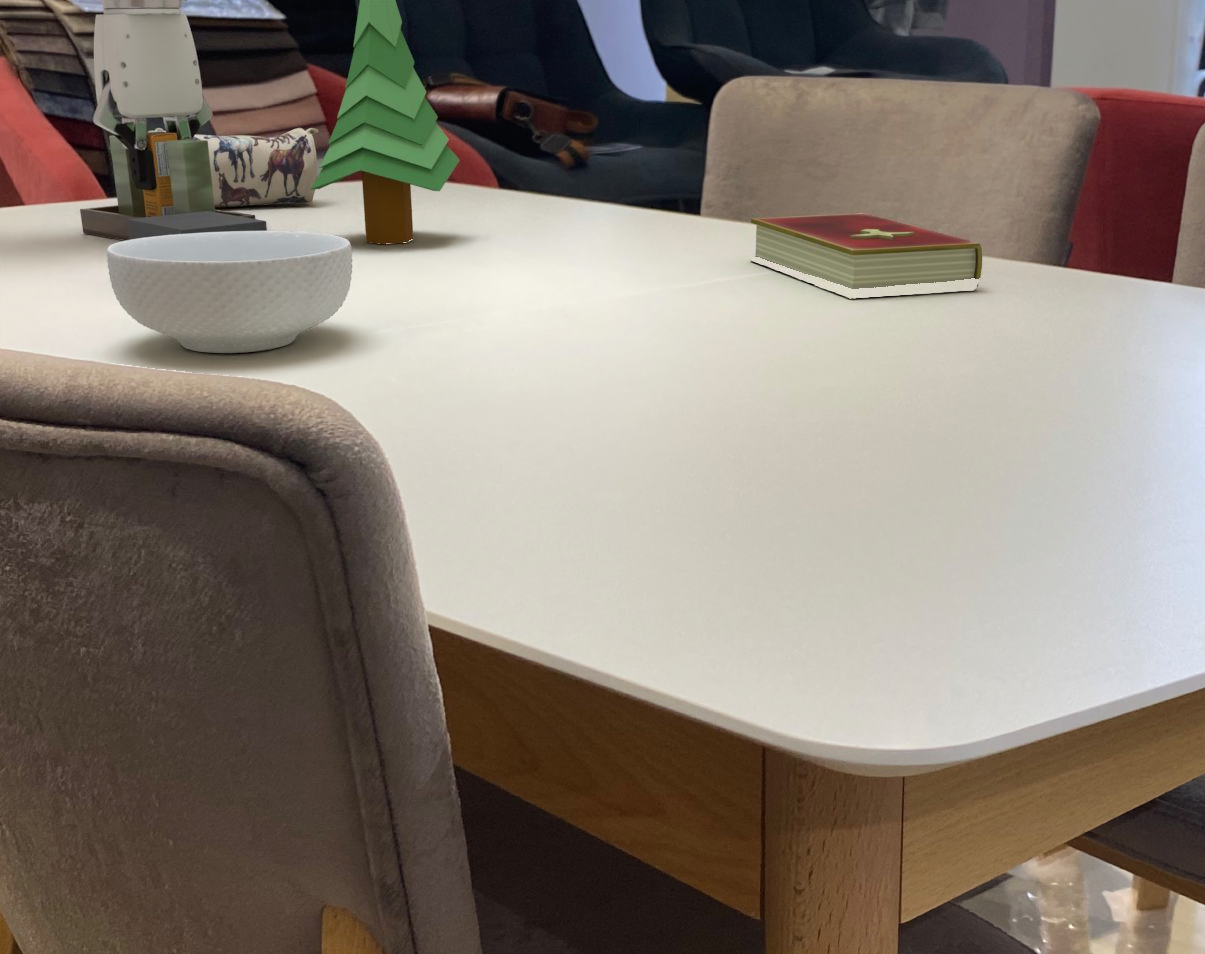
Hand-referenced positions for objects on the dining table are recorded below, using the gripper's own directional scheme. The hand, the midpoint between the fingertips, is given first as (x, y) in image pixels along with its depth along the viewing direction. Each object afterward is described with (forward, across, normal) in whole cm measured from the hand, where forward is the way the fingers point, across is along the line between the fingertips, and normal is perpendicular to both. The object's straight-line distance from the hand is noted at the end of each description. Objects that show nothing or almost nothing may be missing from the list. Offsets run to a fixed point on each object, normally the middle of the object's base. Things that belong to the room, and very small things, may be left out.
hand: (162, 185), depth 153 cm
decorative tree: (+6, -13, +21) cm, 25 cm away
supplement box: (+5, 0, 0) cm, 5 cm away
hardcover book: (+5, -26, +70) cm, 75 cm away
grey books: (+5, +14, +28) cm, 32 cm away
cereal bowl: (+6, +27, +52) cm, 59 cm away
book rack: (+5, 0, 0) cm, 5 cm away
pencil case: (+6, -20, -17) cm, 27 cm away
